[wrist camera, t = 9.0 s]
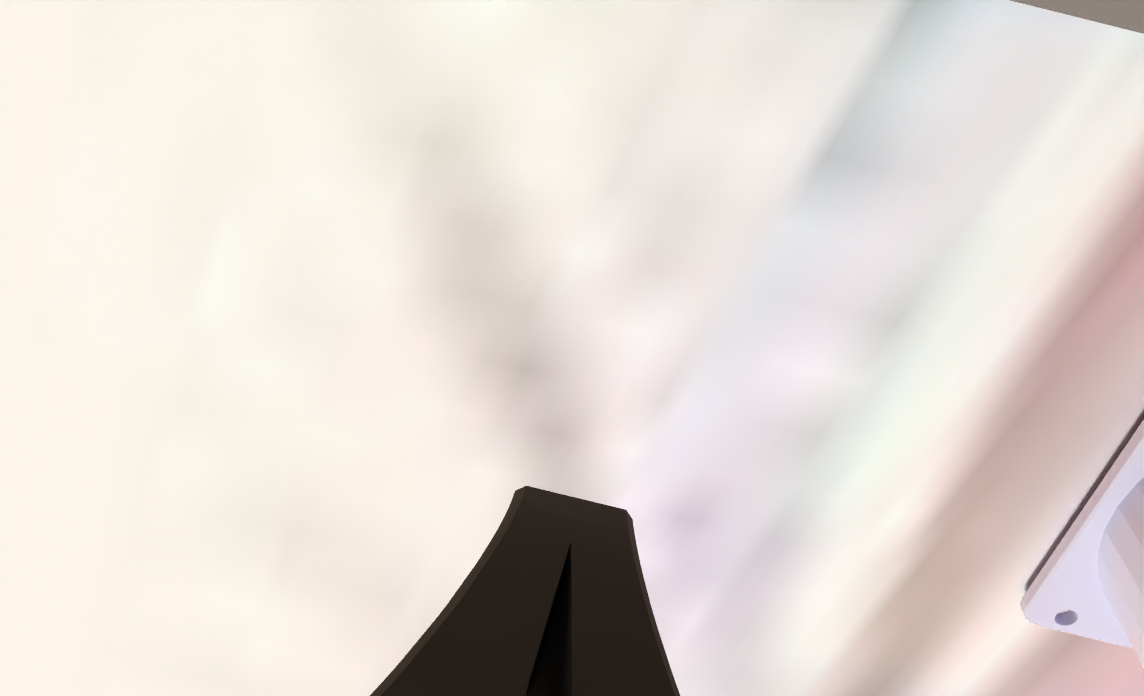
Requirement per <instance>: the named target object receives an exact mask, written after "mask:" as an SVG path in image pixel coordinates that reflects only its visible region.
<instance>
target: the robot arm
mask: <svg viewBox="0 0 1144 696" xmlns="http://www.w3.org/2000/svg"><path fill="white" fill-rule="evenodd" d="M1020 605H1021V609H1022V612H1023V614H1024V616H1025V618H1026V619H1027V620H1028V621H1029V622H1030V623H1032V624H1034V625H1037V626H1041V627H1045V628H1050V629H1054V630H1058V631H1062V632H1066V633H1070V634H1075V635H1079V636H1083V637H1087V638H1091V639H1095V640H1099V641H1104V642H1108V643H1112V644H1116V645H1120V646H1124V647H1128V648H1133V649H1134V651H1135V653H1136V655H1137V657H1138V659H1139V661H1140V662H1141V664H1142V666H1143V668H1144V420H1143V421H1142V423H1141V424H1140V426H1139V427H1138V429H1137V430H1136V431H1135V433H1134V434H1133V436H1132V437H1131V439H1130V440H1129V442H1128V443H1127V445H1126V446H1125V448H1124V449H1123V451H1122V452H1121V454H1120V455H1119V456H1118V458H1117V459H1116V461H1115V462H1114V464H1113V465H1112V467H1111V468H1110V470H1109V471H1108V473H1107V474H1106V476H1105V477H1104V478H1103V480H1102V481H1101V483H1100V484H1099V486H1098V487H1097V489H1096V490H1095V492H1094V493H1093V495H1092V496H1091V498H1090V499H1089V500H1088V502H1087V503H1086V505H1085V506H1084V508H1083V509H1082V511H1081V512H1080V514H1079V515H1078V517H1077V518H1076V520H1075V521H1074V523H1073V524H1072V525H1071V527H1070V528H1069V530H1068V531H1067V533H1066V534H1065V536H1064V537H1063V539H1062V540H1061V542H1060V543H1059V545H1058V546H1057V547H1056V549H1055V550H1054V552H1053V553H1052V555H1051V556H1050V558H1049V559H1048V561H1047V562H1046V564H1045V565H1044V567H1043V568H1042V569H1041V571H1040V572H1039V574H1038V575H1037V577H1036V578H1035V580H1034V581H1033V583H1032V584H1031V586H1030V587H1029V589H1028V590H1027V592H1026V593H1025V594H1024V596H1023V597H1022V600H1021V602H1020ZM1064 610H1068V611H1067V612H1064V613H1059V612H1061V611H1064ZM370 696H680V694H679V691H678V688H677V686H676V683H675V680H674V677H673V674H672V671H671V668H670V665H669V662H668V659H667V656H666V653H665V650H664V647H663V644H662V641H661V637H660V634H659V631H658V628H657V625H656V622H655V618H654V615H653V611H652V608H651V604H650V601H649V597H648V593H647V589H646V585H645V581H644V578H643V573H642V569H641V565H640V560H639V556H638V551H637V546H636V540H635V534H634V528H633V520H632V518H631V517H630V515H629V514H628V512H627V511H626V510H624V509H620V508H616V507H612V506H608V505H604V504H599V503H595V502H591V501H587V500H583V499H579V498H575V497H570V496H566V495H562V494H558V493H554V492H550V491H546V490H541V489H537V488H533V487H529V486H525V487H523V488H521V489H518V490H516V491H515V493H514V496H513V499H512V501H511V504H510V506H509V508H508V511H507V513H506V515H505V517H504V519H503V521H502V523H501V524H500V526H499V528H498V530H497V532H496V533H495V535H494V537H493V538H492V540H491V542H490V543H489V545H488V546H487V548H486V550H485V551H484V553H483V554H482V556H481V558H480V559H479V561H478V562H477V564H476V565H475V567H474V568H473V569H472V571H471V572H470V573H469V575H468V576H467V578H466V579H465V580H464V582H463V583H462V585H461V586H460V587H459V589H458V590H457V592H456V593H455V594H454V596H453V597H452V599H451V600H450V601H449V603H448V604H447V606H446V607H445V608H444V609H443V611H442V612H441V613H440V615H439V616H438V617H437V618H436V620H435V621H434V622H433V623H432V624H431V626H430V627H429V628H428V629H427V630H426V632H425V633H424V634H423V635H422V636H421V638H420V639H419V640H418V641H417V643H416V644H415V645H414V646H413V647H412V649H411V650H410V651H409V652H408V653H407V655H406V656H405V657H404V658H403V659H402V661H401V662H400V663H399V664H398V665H397V666H396V668H395V669H394V670H393V671H392V672H391V673H390V674H389V675H388V676H387V678H386V679H385V680H384V681H383V682H382V683H381V684H380V685H379V686H378V688H377V689H376V690H375V691H374V692H373V693H372V694H371V695H370Z"/></svg>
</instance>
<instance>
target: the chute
mask: <svg viewBox="0 0 1144 696" xmlns="http://www.w3.org/2000/svg"><path fill="white" fill-rule="evenodd" d="M1011 1H1015V2H1019V3H1023V4H1027V5H1031V6H1035V7H1039V8H1043V9H1047V10H1051V11H1055V12H1059V13H1063V14H1067V15H1071V16H1075V17H1079V18H1083V19H1087V20H1091V21H1095V22H1099V23H1103V24H1107V25H1112V26H1116V27H1120V28H1124V29H1128V30H1132V31H1136V32H1140V33H1144V0H1011Z"/></svg>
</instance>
